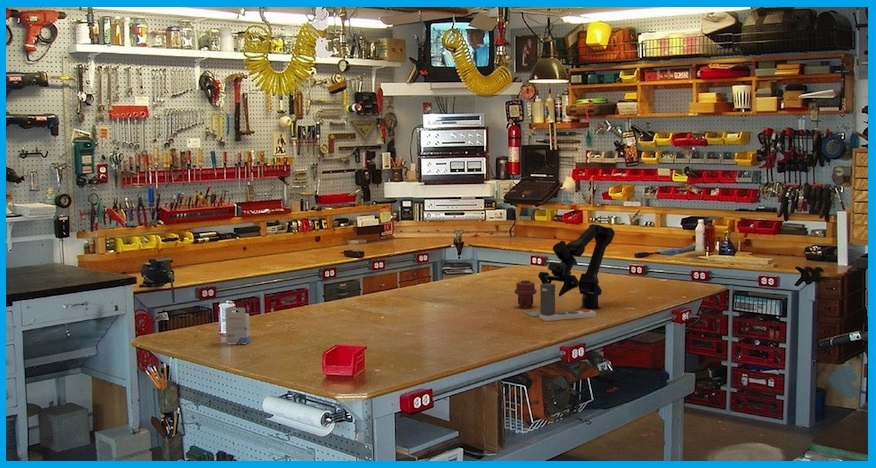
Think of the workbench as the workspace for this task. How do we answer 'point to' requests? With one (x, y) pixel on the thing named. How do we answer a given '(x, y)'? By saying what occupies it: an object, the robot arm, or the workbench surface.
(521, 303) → the mechanical component
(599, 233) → the robot arm
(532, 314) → the mat
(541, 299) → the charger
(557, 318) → the power strip
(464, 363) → the workbench surface
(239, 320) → the ink box
